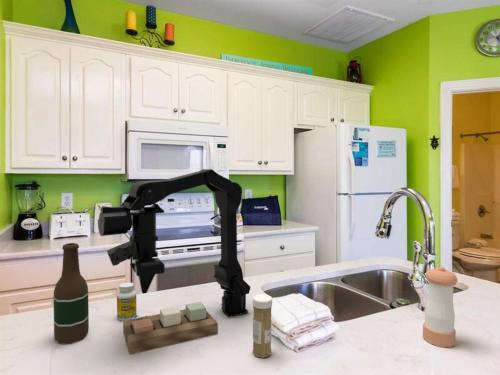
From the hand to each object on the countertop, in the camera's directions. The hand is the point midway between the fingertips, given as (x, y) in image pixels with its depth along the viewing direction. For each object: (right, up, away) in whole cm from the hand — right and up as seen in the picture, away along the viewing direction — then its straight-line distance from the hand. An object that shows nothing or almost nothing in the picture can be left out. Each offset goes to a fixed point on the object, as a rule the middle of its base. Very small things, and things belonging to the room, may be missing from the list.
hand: (144, 292), depth 83 cm
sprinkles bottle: (+30, -13, -5) cm, 33 cm away
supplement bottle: (-9, -11, +13) cm, 19 cm away
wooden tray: (+6, -12, +4) cm, 14 cm away
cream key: (+6, -9, +3) cm, 11 cm away
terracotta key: (-1, -11, 0) cm, 11 cm away
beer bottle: (-19, -12, +1) cm, 22 cm away
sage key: (+12, -9, +7) cm, 16 cm away
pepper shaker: (+75, -13, +2) cm, 77 cm away
